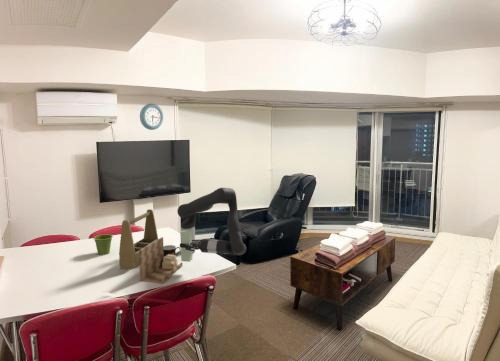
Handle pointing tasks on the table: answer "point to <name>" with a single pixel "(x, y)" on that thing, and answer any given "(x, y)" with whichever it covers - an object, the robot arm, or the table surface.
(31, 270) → the table surface
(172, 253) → the coffee mug
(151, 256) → the rack
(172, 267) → the offcut
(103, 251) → the plant pot
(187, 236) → the sage green pillar
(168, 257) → the offcut
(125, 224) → the caddy
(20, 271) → the table surface
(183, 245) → the robot arm
